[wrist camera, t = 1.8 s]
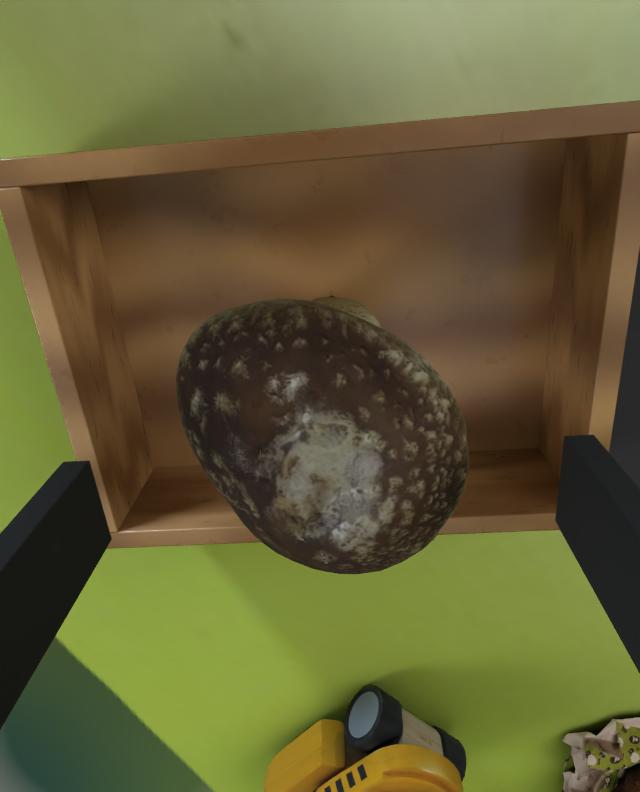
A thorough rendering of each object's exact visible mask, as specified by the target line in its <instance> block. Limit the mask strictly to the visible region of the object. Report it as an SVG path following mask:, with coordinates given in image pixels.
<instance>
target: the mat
mask: <svg viewBox="0 0 640 792" xmlns="http://www.w3.org/2000/svg"><path fill="white" fill-rule="evenodd" d="M609 453H610V454H611V456H612V457H613V458H614V459H615V460H616V462H617V463H618V464H619V465H620V466H621V467H622V469H623V470H624V471H625V472H626V473H627V475H628V476H629V477H630V478H631V479H632V480H633V482H634V483H635V484H636V485H637V486H638V488H639V489H640V248H639V254H638V261H637V268H636V275H635V281H634V288H633V295H632V301H631V308H630V315H629V321H628V328H627V335H626V342H625V348H624V355H623V362H622V368H621V375H620V382H619V388H618V395H617V402H616V409H615V415H614V422H613V429H612V435H611V442H610V449H609Z"/></svg>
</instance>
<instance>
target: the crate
mask: <svg viewBox="0 0 640 792" xmlns="http://www.w3.org/2000/svg"><path fill="white" fill-rule="evenodd" d="M0 209H1V212H2V215H3V219H4V222H5V225H6V229H7V232H8V235H9V239H10V242H11V245H12V249H13V252H14V255H15V258H16V262H17V265H18V268H19V272H20V275H21V278H22V282H23V285H24V288H25V291H26V295H27V298H28V301H29V305H30V308H31V311H32V315H33V318H34V321H35V325H36V328H37V331H38V334H39V338H40V341H41V344H42V348H43V351H44V354H45V358H46V361H47V364H48V368H49V371H50V374H51V377H52V381H53V384H54V387H55V391H56V394H57V397H58V401H59V404H60V407H61V411H62V414H63V417H64V420H65V424H66V427H67V430H68V434H69V437H70V440H71V444H72V447H73V450H74V454H75V457H76V460H77V461H90V464H91V468H92V471H93V475H94V478H95V482H96V485H97V489H98V492H99V496H100V499H101V503H102V506H103V510H104V513H105V517H106V520H107V524H108V527H109V531H110V534H111V538H112V540H111V541H110V543H109V545H108V547H107V548H106V549H108V548H132V547H156V546H180V545H204V544H228V543H252V542H261V541H260V540H259V539H257V538H256V537H255V536H254V535H253V534H252V533H251V531H250V530H249V529H248V528H247V527H246V526H245V525H244V524H243V523H242V521H241V520H240V519H239V517H238V516H237V514H236V513H235V512H234V510H233V509H232V508H231V506H230V505H229V503H228V502H227V501H226V500H225V498H224V497H223V496H222V494H221V493H220V492H219V491H218V489H217V488H216V487H215V485H214V484H213V483H212V481H211V480H210V478H209V477H208V475H207V473H206V472H205V470H204V468H203V467H202V465H201V463H200V462H199V460H198V458H197V457H196V455H195V453H194V452H193V450H192V448H191V446H190V443H189V441H188V439H187V436H186V434H185V431H184V428H183V425H182V422H181V419H180V413H179V407H178V402H177V392H176V375H177V368H178V364H179V360H180V357H181V354H182V350H183V348H184V346H185V345H186V343H187V341H188V340H189V338H190V336H191V334H192V333H193V332H194V331H195V330H196V329H197V328H198V327H199V326H200V325H201V324H202V323H203V322H204V321H205V320H207V319H208V318H210V317H211V316H213V315H215V314H217V313H220V312H223V311H226V310H229V309H232V308H236V307H240V306H244V305H247V304H251V303H254V302H260V301H266V300H273V299H281V298H283V299H296V300H306V301H312V300H314V299H315V298H323V297H329V296H334V297H336V298H346V299H350V300H354V301H356V302H359V303H361V304H362V305H364V306H365V307H366V308H368V309H369V310H370V311H371V312H372V314H373V315H374V316H375V317H376V319H377V320H378V321H379V323H380V326H381V327H383V329H384V330H386V331H388V332H390V333H392V334H394V335H395V336H397V337H399V338H401V339H402V340H404V341H405V342H406V343H408V344H409V345H411V346H412V347H413V348H415V349H416V350H417V351H418V352H419V353H420V354H421V355H422V356H423V357H424V358H425V359H426V360H427V361H428V362H429V363H430V364H431V366H432V367H433V368H434V369H435V370H436V372H437V373H438V374H439V375H440V376H441V377H442V379H443V380H444V381H445V382H446V383H447V384H448V386H449V387H450V389H451V391H452V392H453V394H454V396H455V397H456V399H457V401H458V402H459V405H460V408H461V411H462V414H463V417H464V420H465V423H466V427H467V436H468V454H469V470H468V474H467V478H466V488H465V490H464V491H463V493H462V495H461V497H460V498H459V500H458V503H457V506H456V509H455V511H454V512H453V513H452V515H451V516H450V517H449V519H448V520H447V521H446V523H445V524H444V526H443V527H442V528H441V530H440V531H439V533H438V534H437V535H444V534H468V533H492V532H516V531H540V530H560V528H559V527H558V525H557V523H556V521H555V518H556V509H557V499H558V490H559V480H560V471H561V461H562V452H563V442H564V436H575V435H594V436H595V437H596V438H597V439H598V440H599V441H600V443H601V444H602V445H603V446H604V447H605V449H606V450H607V451H608V452H609V449H610V442H611V435H612V429H613V422H614V415H615V409H616V402H617V395H618V388H619V382H620V375H621V368H622V362H623V355H624V348H625V342H626V335H627V328H628V321H629V315H630V308H631V301H632V295H633V288H634V281H635V275H636V268H637V261H638V254H639V248H640V100H639V101H628V102H617V103H606V104H595V105H584V106H573V107H562V108H551V109H541V110H530V111H519V112H508V113H497V114H486V115H475V116H464V117H453V118H442V119H431V120H420V121H409V122H398V123H387V124H376V125H365V126H355V127H344V128H333V129H322V130H311V131H300V132H289V133H278V134H267V135H256V136H245V137H234V138H223V139H212V140H201V141H190V142H179V143H169V144H158V145H147V146H136V147H125V148H114V149H103V150H92V151H81V152H70V153H59V154H48V155H37V156H26V157H15V158H4V159H0Z"/></svg>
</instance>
